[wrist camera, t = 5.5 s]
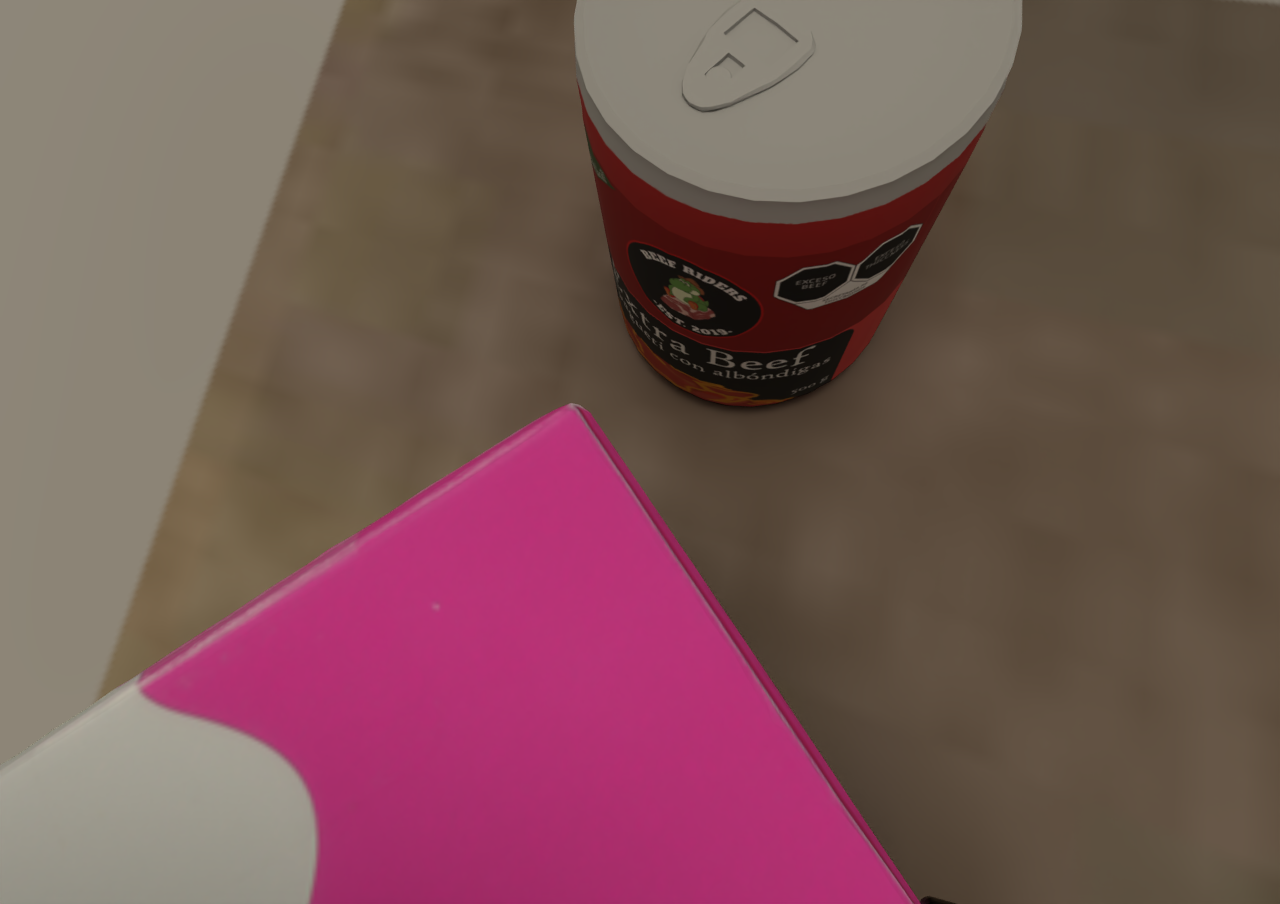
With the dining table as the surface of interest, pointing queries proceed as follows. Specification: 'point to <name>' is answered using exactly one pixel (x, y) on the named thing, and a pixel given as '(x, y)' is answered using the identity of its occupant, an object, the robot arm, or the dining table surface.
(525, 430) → the supplement box
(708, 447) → the dining table surface
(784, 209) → the canned food
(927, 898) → the robot arm
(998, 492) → the dining table surface
